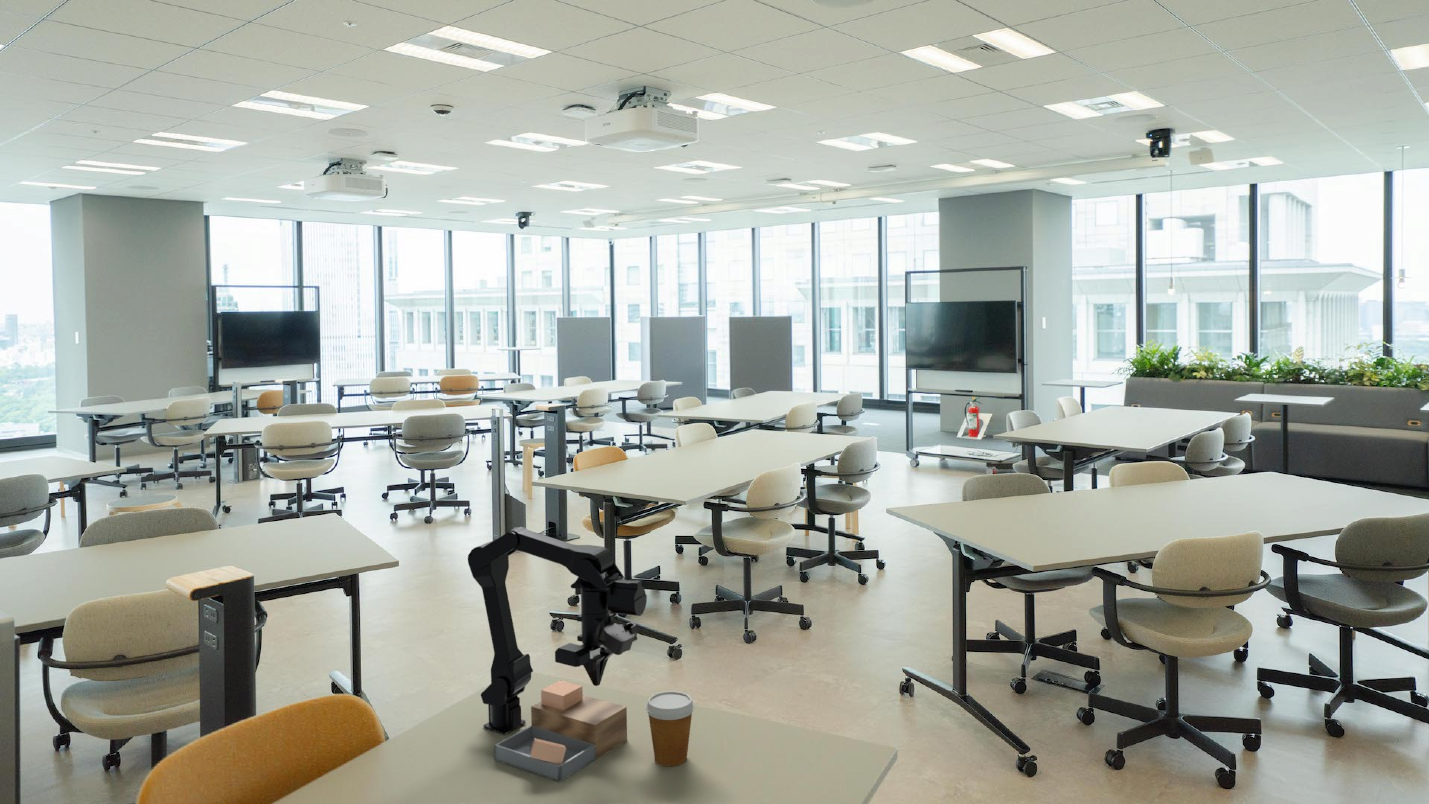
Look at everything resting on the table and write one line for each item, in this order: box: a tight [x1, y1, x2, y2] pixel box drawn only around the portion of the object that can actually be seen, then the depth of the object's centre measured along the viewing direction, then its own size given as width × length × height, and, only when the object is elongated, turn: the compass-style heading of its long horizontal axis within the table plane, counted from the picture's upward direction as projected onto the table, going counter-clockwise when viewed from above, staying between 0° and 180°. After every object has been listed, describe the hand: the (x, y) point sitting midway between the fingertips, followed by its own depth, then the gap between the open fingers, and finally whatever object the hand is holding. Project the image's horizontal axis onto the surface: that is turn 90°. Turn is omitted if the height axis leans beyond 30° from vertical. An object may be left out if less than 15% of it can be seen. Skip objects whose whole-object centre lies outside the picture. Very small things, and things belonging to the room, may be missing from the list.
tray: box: [493, 724, 597, 783], centre depth 178 cm, size 17×10×3 cm, turn 58°
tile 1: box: [540, 679, 583, 710], centre depth 188 cm, size 6×6×3 cm
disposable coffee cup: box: [645, 690, 695, 767], centre depth 177 cm, size 10×10×12 cm
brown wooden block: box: [530, 695, 628, 760], centre depth 186 cm, size 17×10×7 cm, turn 58°
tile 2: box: [530, 738, 566, 764], centre depth 174 cm, size 6×6×3 cm
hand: (596, 685), depth 185 cm, fingers closed
